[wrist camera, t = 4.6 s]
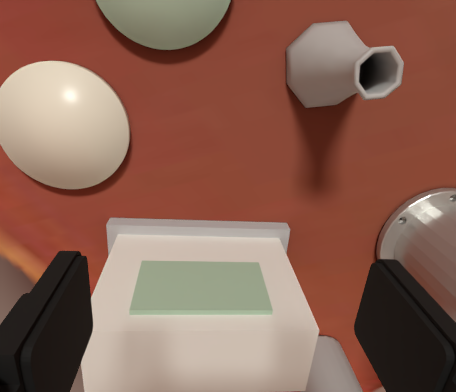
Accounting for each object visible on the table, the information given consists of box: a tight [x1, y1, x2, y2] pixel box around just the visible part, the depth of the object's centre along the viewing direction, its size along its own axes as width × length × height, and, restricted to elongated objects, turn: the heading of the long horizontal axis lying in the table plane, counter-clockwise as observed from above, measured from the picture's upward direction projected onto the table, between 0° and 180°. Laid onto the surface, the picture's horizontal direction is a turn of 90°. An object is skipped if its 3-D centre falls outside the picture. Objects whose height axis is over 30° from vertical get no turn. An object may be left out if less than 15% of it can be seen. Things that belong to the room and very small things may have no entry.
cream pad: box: [0, 61, 130, 189], centre depth 30 cm, size 11×11×1 cm
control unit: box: [81, 218, 319, 392], centre depth 30 cm, size 8×18×14 cm, turn 86°
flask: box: [286, 21, 404, 108], centre depth 26 cm, size 7×7×10 cm
